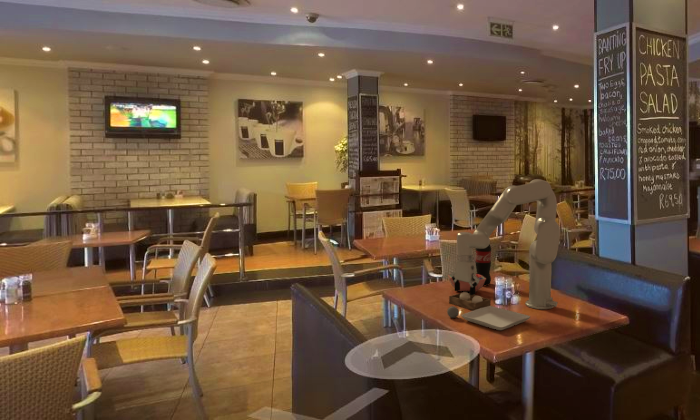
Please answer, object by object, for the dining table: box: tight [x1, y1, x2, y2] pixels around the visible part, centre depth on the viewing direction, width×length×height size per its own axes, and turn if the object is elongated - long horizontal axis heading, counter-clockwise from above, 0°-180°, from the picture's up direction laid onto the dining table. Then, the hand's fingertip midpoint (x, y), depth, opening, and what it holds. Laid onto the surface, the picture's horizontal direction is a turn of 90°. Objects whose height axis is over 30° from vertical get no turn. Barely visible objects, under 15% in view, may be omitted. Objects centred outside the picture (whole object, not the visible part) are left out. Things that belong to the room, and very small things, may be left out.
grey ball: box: [446, 305, 460, 319], centre depth 216 cm, size 5×5×5 cm
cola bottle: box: [474, 244, 492, 286], centre depth 270 cm, size 8×8×30 cm
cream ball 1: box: [459, 291, 470, 301], centre depth 236 cm, size 5×5×5 cm
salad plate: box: [460, 305, 531, 331], centre depth 210 cm, size 21×21×3 cm
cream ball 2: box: [472, 295, 483, 303], centre depth 230 cm, size 5×5×5 cm
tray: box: [448, 292, 492, 311], centre depth 234 cm, size 16×11×4 cm
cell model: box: [447, 273, 486, 293], centre depth 257 cm, size 17×20×11 cm
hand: (464, 292), depth 236 cm, fingers open, 9 cm apart
